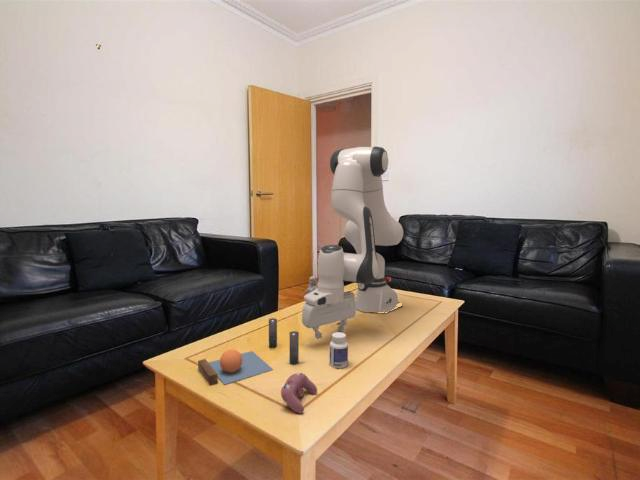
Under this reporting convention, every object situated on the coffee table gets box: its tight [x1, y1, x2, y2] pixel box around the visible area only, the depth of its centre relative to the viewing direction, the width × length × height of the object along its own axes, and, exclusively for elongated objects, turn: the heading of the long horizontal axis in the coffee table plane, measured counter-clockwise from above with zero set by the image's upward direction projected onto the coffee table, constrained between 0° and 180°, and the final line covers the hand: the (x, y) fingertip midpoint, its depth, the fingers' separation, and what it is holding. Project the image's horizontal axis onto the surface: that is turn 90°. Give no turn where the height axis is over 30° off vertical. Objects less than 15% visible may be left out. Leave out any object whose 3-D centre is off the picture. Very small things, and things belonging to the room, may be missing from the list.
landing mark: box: [207, 350, 274, 386], centre depth 97 cm, size 14×14×1 cm
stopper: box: [197, 358, 219, 386], centre depth 92 cm, size 2×10×2 cm, turn 36°
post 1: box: [268, 317, 278, 349], centre depth 110 cm, size 3×3×9 cm
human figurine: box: [300, 275, 317, 296], centre depth 132 cm, size 12×4×18 cm, turn 48°
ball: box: [219, 348, 242, 373], centre depth 94 cm, size 6×6×6 cm
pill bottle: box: [329, 331, 349, 369], centre depth 99 cm, size 5×5×9 cm
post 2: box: [289, 330, 300, 366], centre depth 99 cm, size 3×3×9 cm
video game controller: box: [280, 372, 318, 414], centre depth 81 cm, size 10×5×7 cm, turn 160°
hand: (329, 334), depth 115 cm, fingers open, 8 cm apart
